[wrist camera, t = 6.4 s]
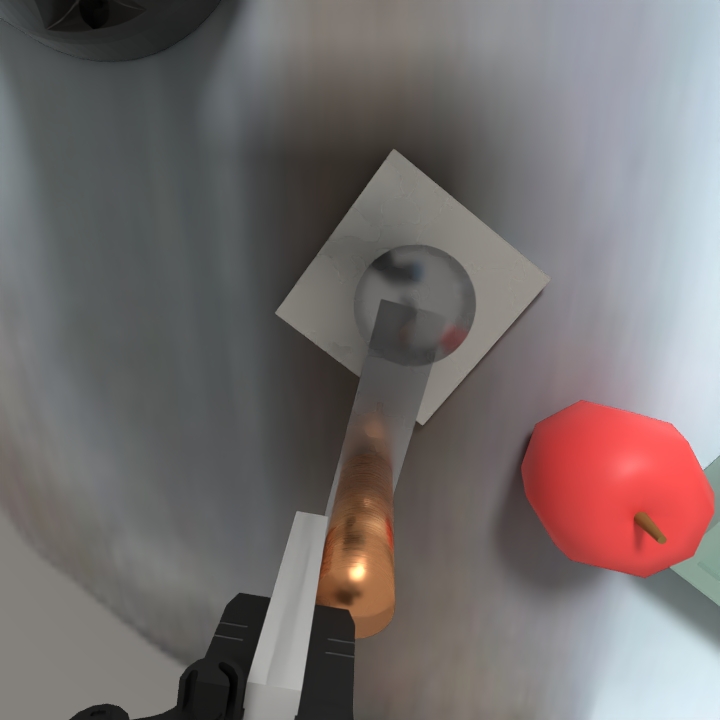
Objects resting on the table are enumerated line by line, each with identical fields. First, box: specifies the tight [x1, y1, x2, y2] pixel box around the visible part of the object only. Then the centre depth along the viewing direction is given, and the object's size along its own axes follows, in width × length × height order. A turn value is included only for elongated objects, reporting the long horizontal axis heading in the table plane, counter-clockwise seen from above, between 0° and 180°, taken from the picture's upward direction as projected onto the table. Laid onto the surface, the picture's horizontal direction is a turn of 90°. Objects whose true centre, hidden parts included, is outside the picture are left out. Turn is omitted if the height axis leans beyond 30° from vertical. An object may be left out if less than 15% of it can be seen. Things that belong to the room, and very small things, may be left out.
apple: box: [521, 400, 714, 578], centre depth 21 cm, size 8×8×8 cm
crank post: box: [275, 149, 551, 425], centre depth 22 cm, size 10×10×3 cm
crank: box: [315, 244, 476, 638], centre depth 17 cm, size 16×5×10 cm, turn 166°
